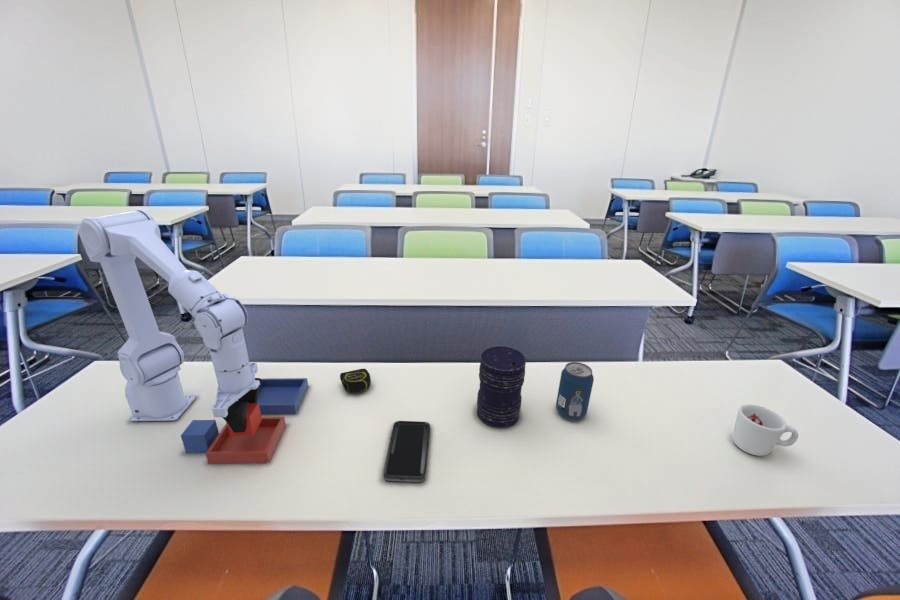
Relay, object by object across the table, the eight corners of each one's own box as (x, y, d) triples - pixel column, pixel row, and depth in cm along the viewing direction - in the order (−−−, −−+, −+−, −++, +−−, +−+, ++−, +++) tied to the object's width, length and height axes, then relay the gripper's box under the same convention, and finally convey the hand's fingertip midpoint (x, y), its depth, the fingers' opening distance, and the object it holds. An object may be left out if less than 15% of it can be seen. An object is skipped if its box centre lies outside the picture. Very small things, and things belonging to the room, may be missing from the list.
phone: (430, 422, 86) (424, 478, 72) (430, 426, 86) (424, 482, 72) (393, 420, 86) (381, 476, 72) (394, 424, 86) (381, 480, 72)
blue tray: (244, 414, 88) (242, 405, 87) (261, 387, 97) (260, 378, 96) (296, 414, 89) (294, 404, 88) (308, 386, 98) (307, 378, 97)
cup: (780, 442, 85) (794, 412, 82) (796, 469, 78) (812, 438, 75) (722, 429, 88) (734, 400, 85) (733, 454, 81) (746, 424, 78)
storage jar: (467, 411, 91) (470, 355, 85) (496, 395, 97) (501, 341, 91) (499, 435, 84) (505, 376, 78) (528, 416, 90) (536, 360, 84)
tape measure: (367, 377, 102) (366, 365, 101) (373, 392, 97) (373, 379, 95) (340, 383, 100) (339, 370, 98) (345, 398, 94) (344, 385, 92)
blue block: (185, 453, 77) (180, 435, 76) (197, 436, 81) (192, 419, 80) (209, 452, 78) (204, 435, 76) (219, 436, 82) (215, 419, 80)
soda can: (571, 400, 96) (579, 357, 91) (592, 418, 90) (602, 373, 86) (548, 407, 93) (555, 364, 88) (568, 426, 88) (577, 381, 83)
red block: (230, 436, 76) (225, 417, 75) (239, 420, 80) (235, 402, 79) (253, 435, 77) (249, 417, 75) (262, 420, 81) (258, 402, 79)
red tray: (208, 464, 75) (205, 453, 74) (232, 426, 84) (229, 417, 83) (268, 462, 76) (266, 452, 75) (286, 425, 85) (284, 416, 84)
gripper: (237, 387, 66) (251, 449, 72) (268, 343, 79) (278, 398, 85) (193, 387, 66) (210, 450, 71) (232, 343, 79) (244, 399, 84)
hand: (244, 422), depth 78 cm, fingers closed on red block, 4 cm apart
